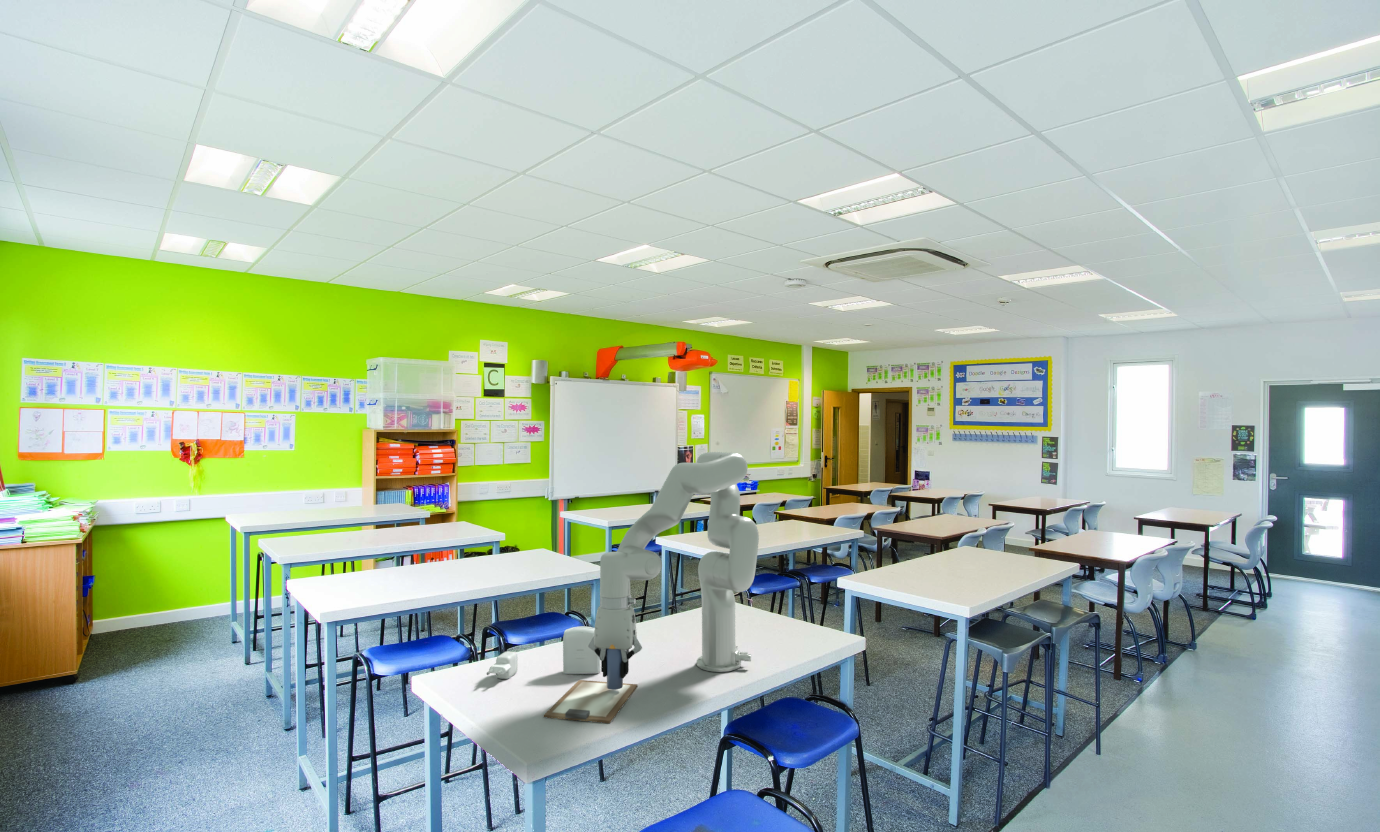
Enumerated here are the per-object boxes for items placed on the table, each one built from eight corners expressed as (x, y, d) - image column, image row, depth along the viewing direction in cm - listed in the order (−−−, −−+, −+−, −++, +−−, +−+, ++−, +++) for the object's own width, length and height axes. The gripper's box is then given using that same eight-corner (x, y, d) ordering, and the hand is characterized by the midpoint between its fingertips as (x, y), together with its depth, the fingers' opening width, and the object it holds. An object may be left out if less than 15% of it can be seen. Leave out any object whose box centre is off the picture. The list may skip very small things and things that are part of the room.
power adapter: (500, 687, 169) (500, 664, 169) (483, 686, 170) (483, 663, 170) (520, 672, 180) (520, 650, 180) (503, 671, 181) (503, 649, 181)
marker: (625, 683, 165) (625, 636, 166) (620, 690, 161) (620, 641, 162) (609, 682, 166) (609, 635, 167) (603, 688, 162) (604, 640, 163)
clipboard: (637, 686, 169) (637, 680, 169) (609, 723, 147) (609, 716, 147) (579, 681, 172) (579, 675, 172) (542, 718, 150) (542, 710, 150)
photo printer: (561, 675, 177) (561, 629, 178) (564, 669, 182) (564, 624, 182) (599, 675, 177) (599, 629, 178) (601, 669, 182) (601, 624, 182)
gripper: (651, 600, 167) (651, 672, 166) (589, 596, 170) (588, 668, 169) (643, 607, 159) (642, 683, 159) (578, 604, 163) (577, 678, 162)
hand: (614, 674), depth 164 cm, fingers closed on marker, 4 cm apart
